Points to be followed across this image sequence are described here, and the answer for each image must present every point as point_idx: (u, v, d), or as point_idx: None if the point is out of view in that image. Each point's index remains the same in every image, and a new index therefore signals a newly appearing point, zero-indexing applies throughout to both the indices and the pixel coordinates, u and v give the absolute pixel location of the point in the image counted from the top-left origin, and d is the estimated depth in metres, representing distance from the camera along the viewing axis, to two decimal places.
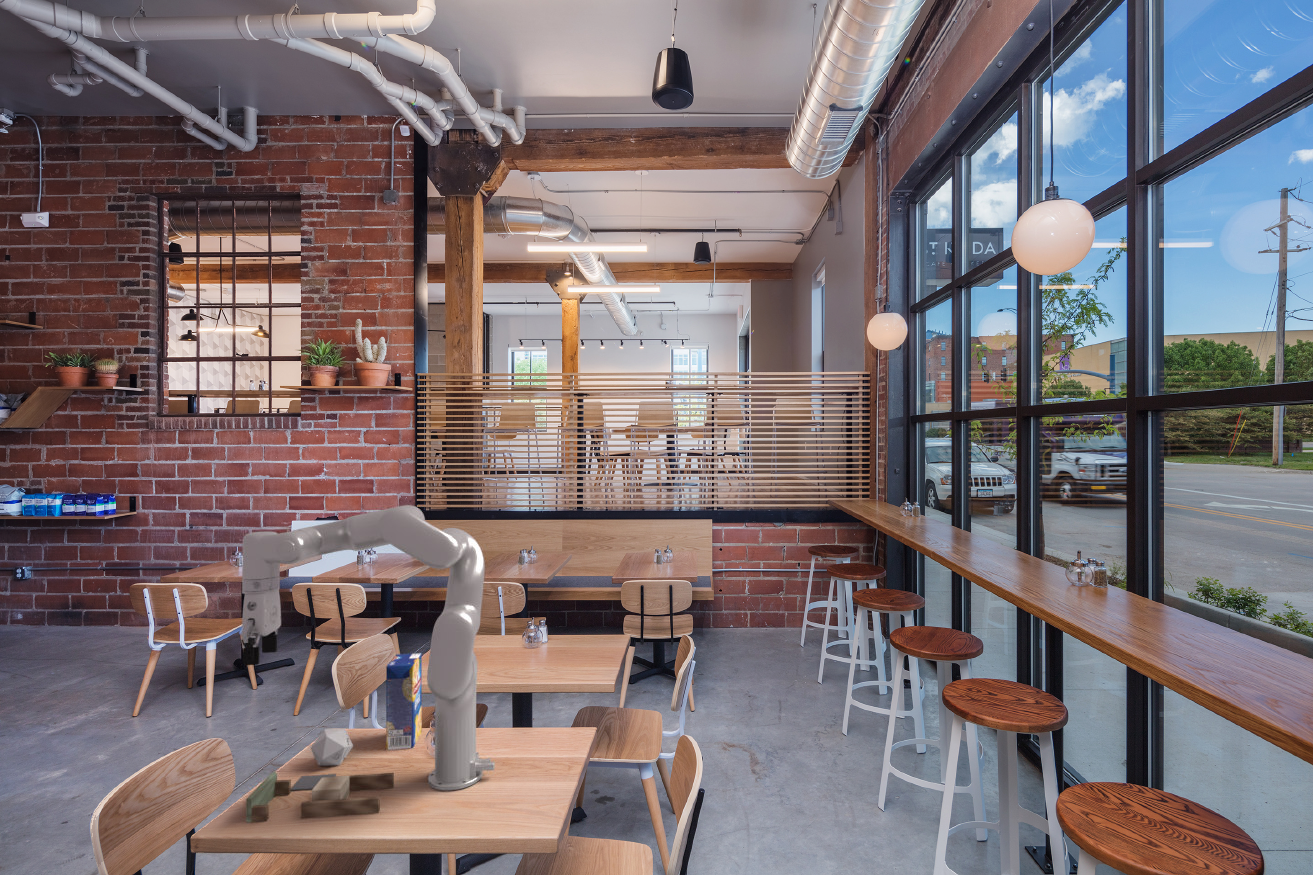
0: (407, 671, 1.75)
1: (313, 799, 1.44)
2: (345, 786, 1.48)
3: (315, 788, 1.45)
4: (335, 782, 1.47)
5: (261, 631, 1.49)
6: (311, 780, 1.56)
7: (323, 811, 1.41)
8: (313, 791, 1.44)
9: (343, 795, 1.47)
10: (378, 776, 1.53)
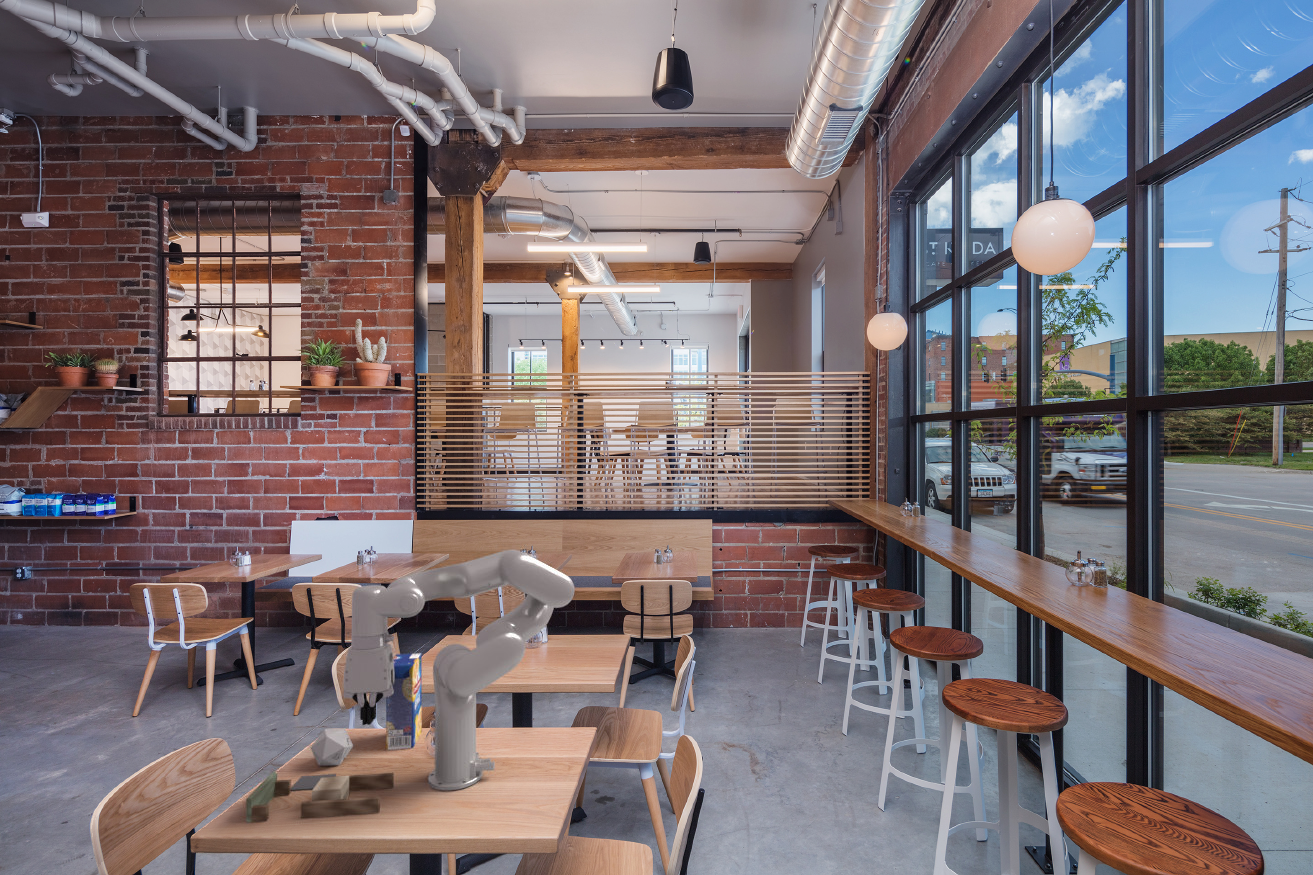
0: (407, 671, 1.75)
1: (313, 799, 1.44)
2: (345, 786, 1.48)
3: (315, 788, 1.45)
4: (335, 782, 1.47)
5: None
6: (311, 780, 1.56)
7: (323, 811, 1.41)
8: (313, 791, 1.44)
9: (343, 795, 1.47)
10: (378, 776, 1.53)
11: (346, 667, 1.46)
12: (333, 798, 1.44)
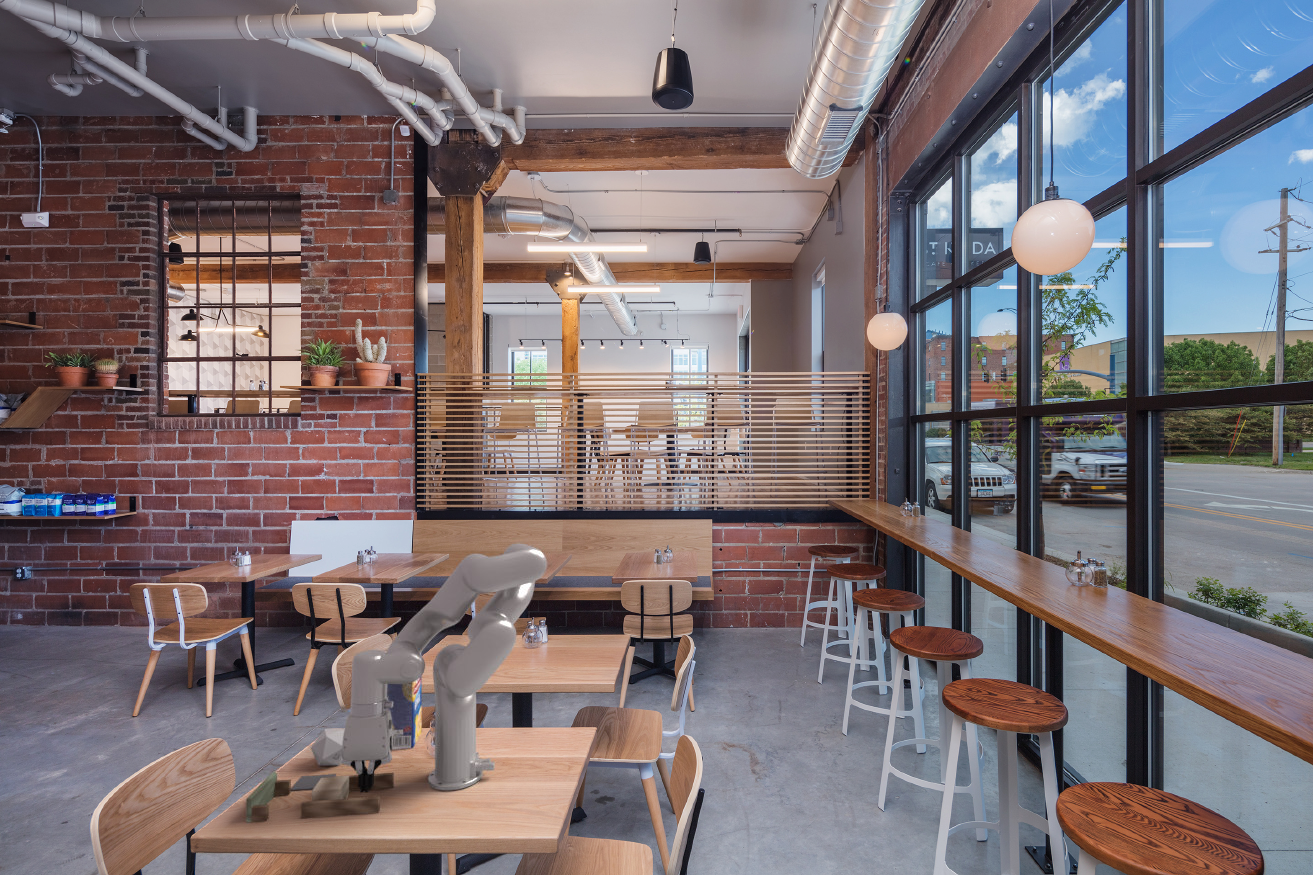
0: None
1: (313, 799, 1.44)
2: (345, 786, 1.48)
3: (316, 788, 1.45)
4: (335, 782, 1.47)
5: (392, 746, 1.51)
6: (311, 780, 1.56)
7: (323, 811, 1.41)
8: (313, 791, 1.44)
9: (343, 795, 1.47)
10: (378, 776, 1.53)
11: (345, 734, 1.46)
12: (333, 798, 1.44)
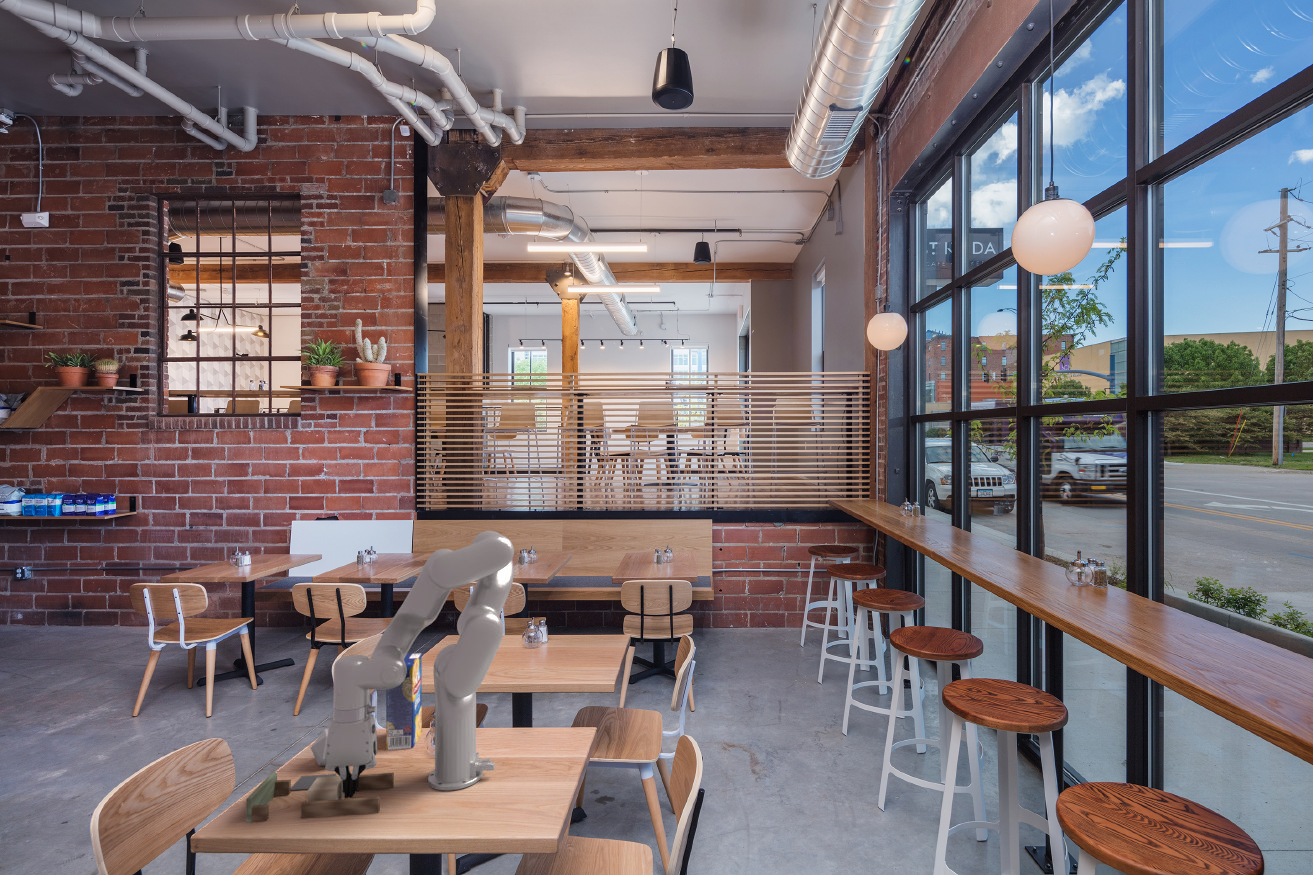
0: (407, 671, 1.75)
1: (309, 799, 1.44)
2: (341, 786, 1.48)
3: (311, 788, 1.45)
4: (331, 782, 1.47)
5: (376, 750, 1.51)
6: (311, 780, 1.56)
7: (323, 811, 1.41)
8: (309, 791, 1.44)
9: (339, 794, 1.47)
10: (378, 776, 1.53)
11: (328, 740, 1.45)
12: (329, 798, 1.44)
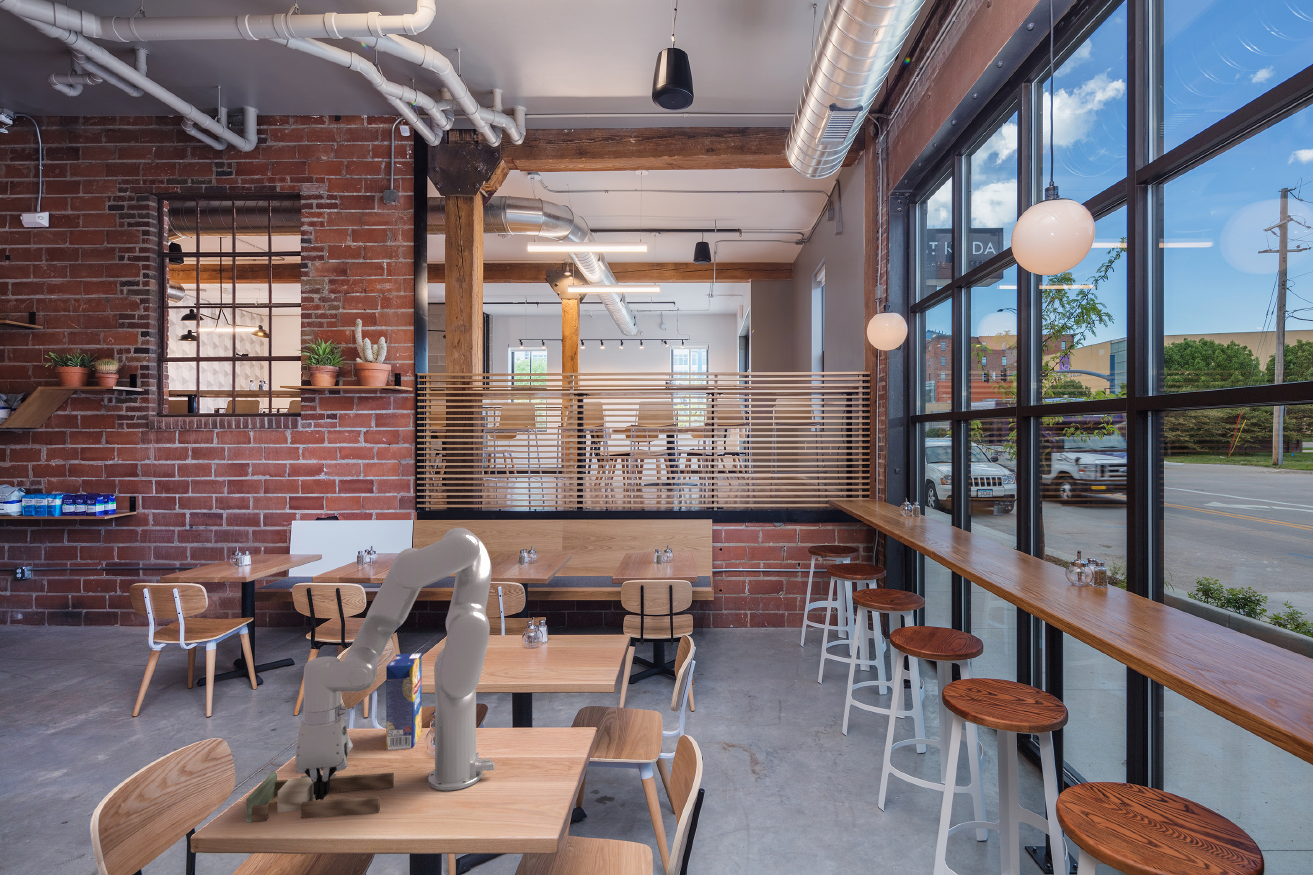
0: (407, 671, 1.75)
1: (279, 800, 1.43)
2: (312, 787, 1.47)
3: (282, 789, 1.44)
4: (302, 783, 1.47)
5: (348, 752, 1.50)
6: None
7: (323, 811, 1.41)
8: (279, 792, 1.43)
9: (310, 796, 1.46)
10: (378, 776, 1.53)
11: (298, 742, 1.45)
12: (299, 799, 1.44)
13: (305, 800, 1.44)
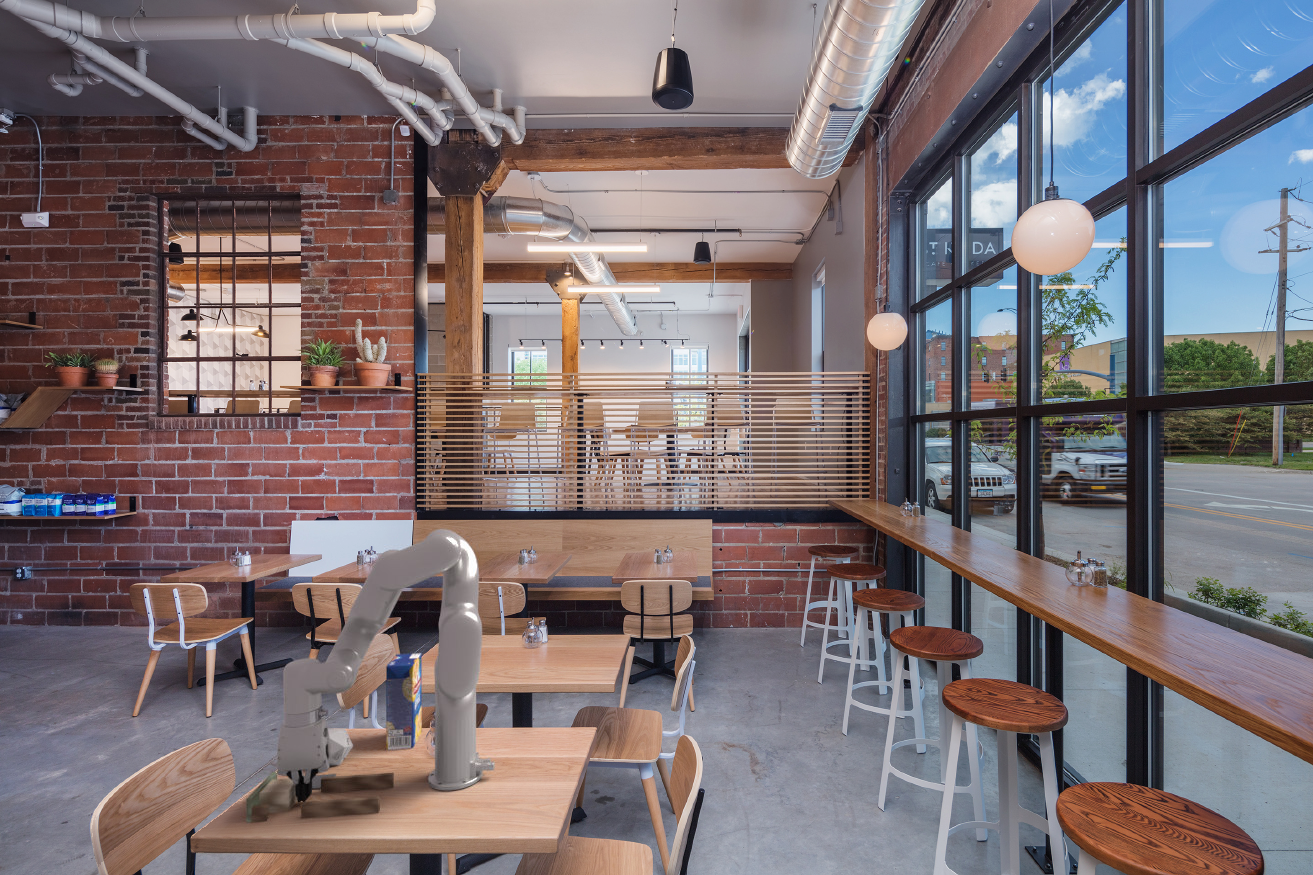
0: (407, 671, 1.75)
1: (261, 801, 1.43)
2: (294, 788, 1.47)
3: (263, 790, 1.44)
4: (284, 784, 1.46)
5: (330, 754, 1.49)
6: None
7: (323, 811, 1.41)
8: (261, 793, 1.43)
9: (292, 797, 1.46)
10: (378, 776, 1.53)
11: (279, 745, 1.44)
12: (281, 800, 1.44)
13: (287, 801, 1.44)
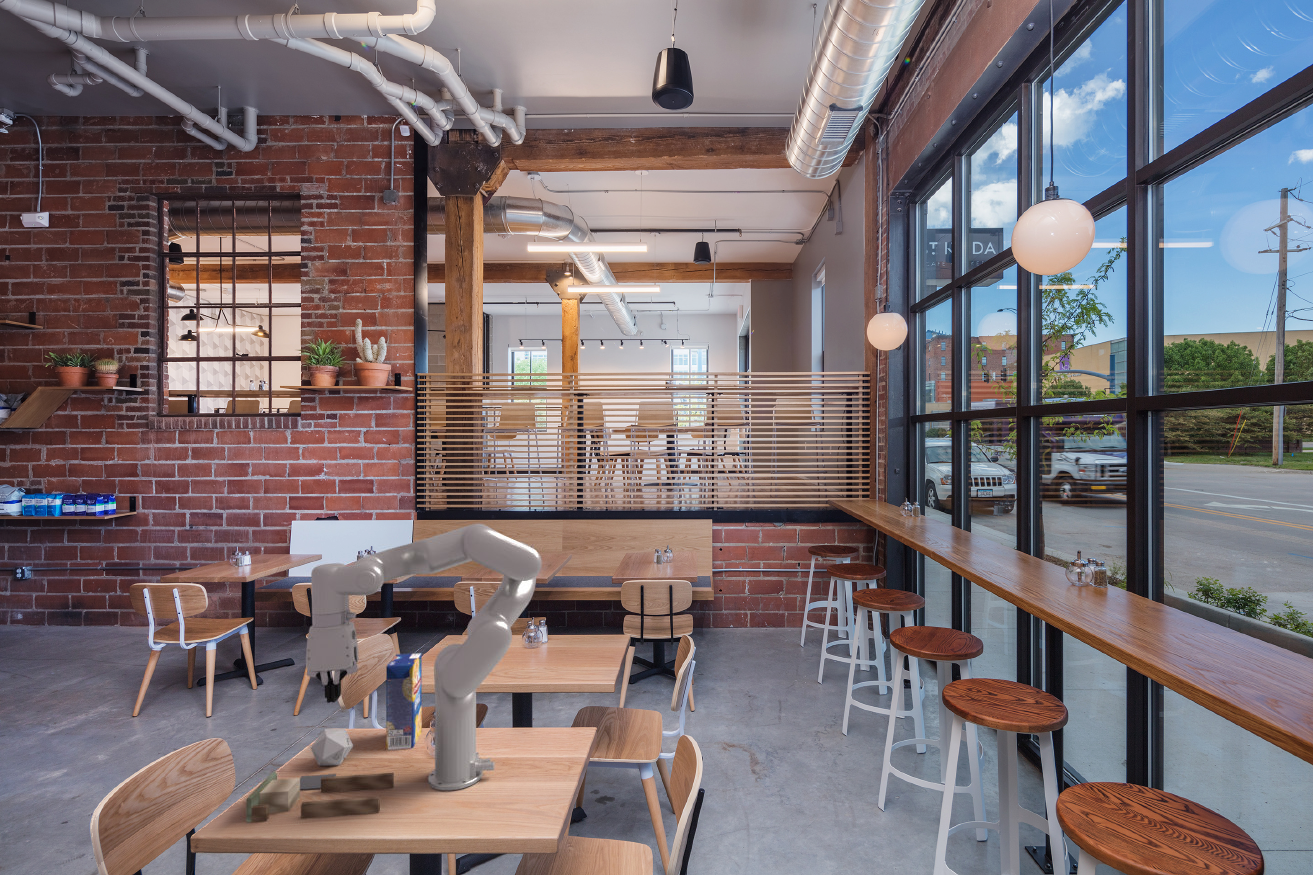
0: (407, 671, 1.75)
1: (261, 801, 1.43)
2: (294, 788, 1.47)
3: (263, 791, 1.44)
4: (284, 785, 1.46)
5: (358, 657, 1.51)
6: (311, 780, 1.56)
7: (323, 811, 1.41)
8: (261, 793, 1.43)
9: (292, 797, 1.46)
10: (378, 776, 1.53)
11: (308, 646, 1.46)
12: (281, 801, 1.44)
13: (287, 801, 1.44)
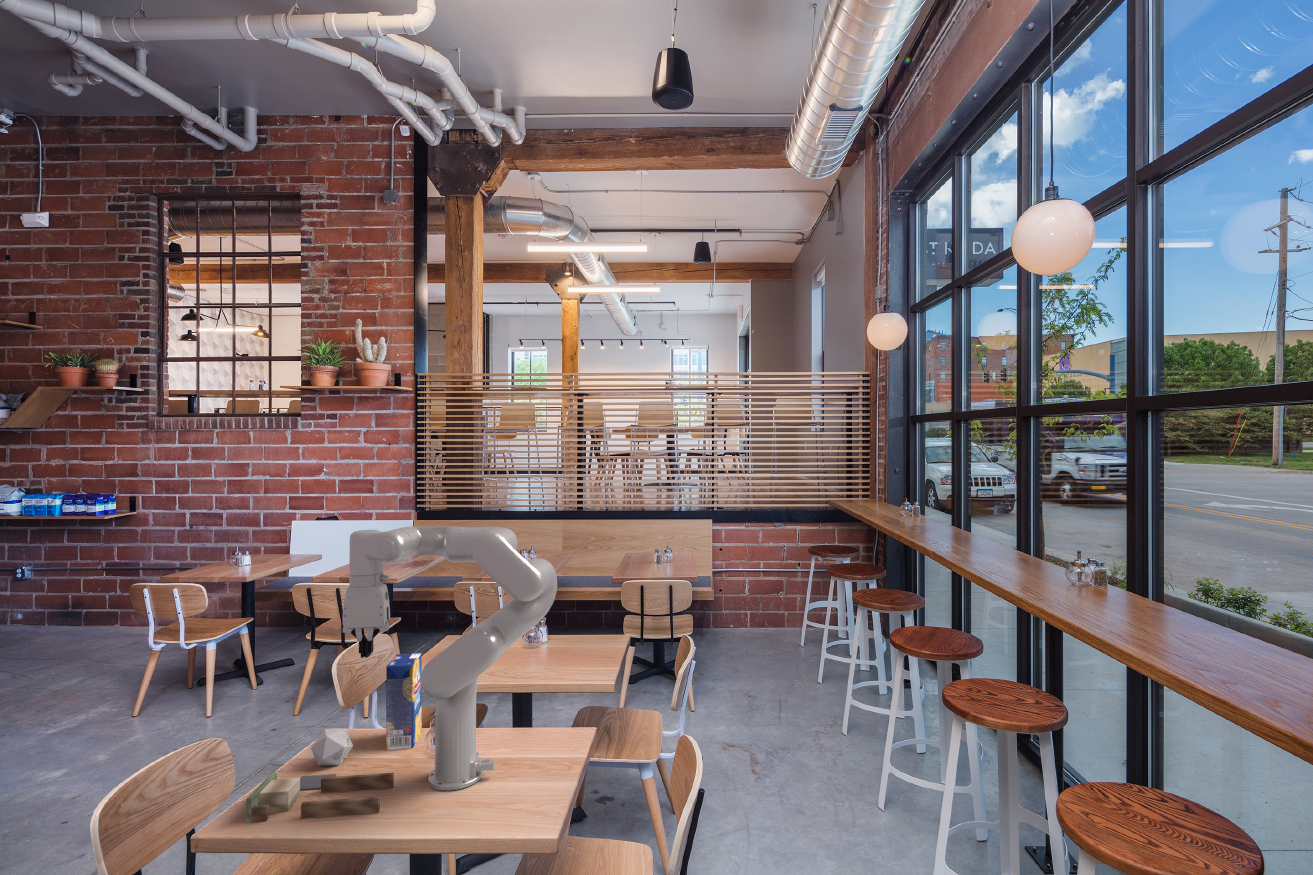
0: (407, 671, 1.75)
1: (261, 801, 1.43)
2: (294, 788, 1.47)
3: (264, 791, 1.44)
4: (285, 785, 1.46)
5: (389, 617, 1.63)
6: (311, 780, 1.56)
7: (323, 811, 1.41)
8: (261, 793, 1.43)
9: (292, 797, 1.46)
10: (378, 776, 1.53)
11: (345, 604, 1.58)
12: (281, 801, 1.44)
13: (287, 801, 1.44)
